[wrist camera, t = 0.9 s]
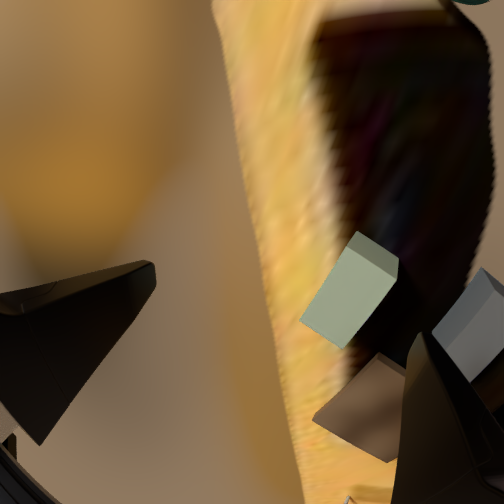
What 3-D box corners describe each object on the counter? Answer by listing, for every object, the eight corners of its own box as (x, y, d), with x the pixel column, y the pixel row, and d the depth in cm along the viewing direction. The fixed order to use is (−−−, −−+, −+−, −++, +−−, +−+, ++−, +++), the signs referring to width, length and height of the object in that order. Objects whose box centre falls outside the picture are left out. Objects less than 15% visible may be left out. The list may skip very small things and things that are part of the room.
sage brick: (398, 258, 19) (396, 279, 15) (353, 320, 22) (342, 349, 18) (357, 230, 20) (346, 246, 16) (316, 295, 23) (299, 320, 19)
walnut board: (460, 405, 18) (460, 413, 18) (388, 455, 23) (387, 463, 22) (378, 351, 21) (377, 359, 20) (315, 413, 26) (311, 420, 25)
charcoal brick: (511, 292, 15) (527, 318, 12) (462, 352, 18) (467, 384, 15) (481, 266, 16) (494, 289, 13) (432, 330, 19) (433, 362, 15)
